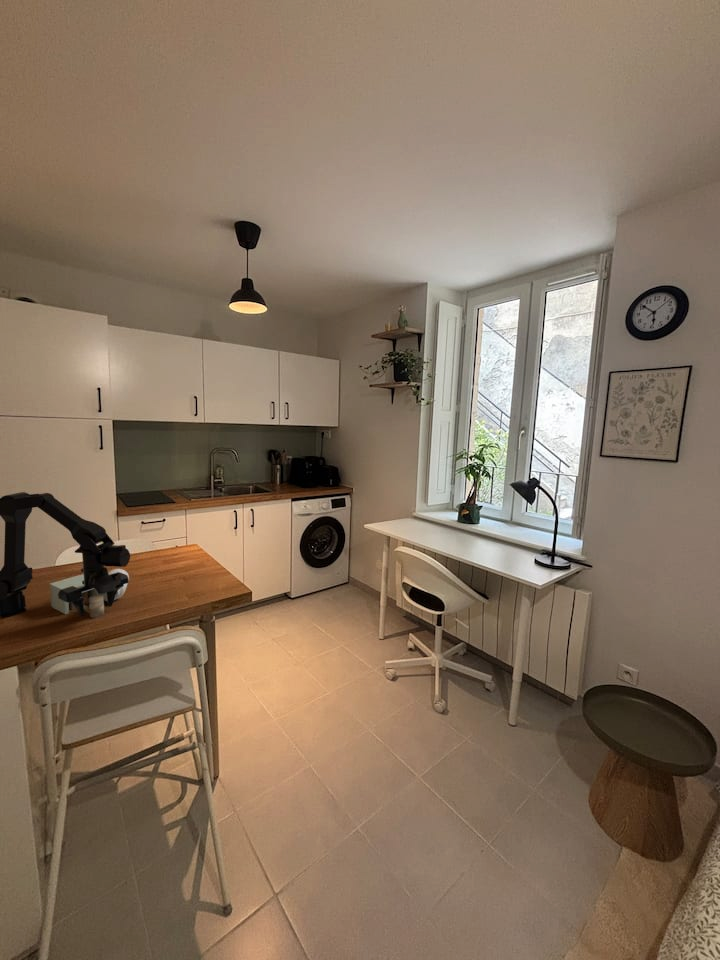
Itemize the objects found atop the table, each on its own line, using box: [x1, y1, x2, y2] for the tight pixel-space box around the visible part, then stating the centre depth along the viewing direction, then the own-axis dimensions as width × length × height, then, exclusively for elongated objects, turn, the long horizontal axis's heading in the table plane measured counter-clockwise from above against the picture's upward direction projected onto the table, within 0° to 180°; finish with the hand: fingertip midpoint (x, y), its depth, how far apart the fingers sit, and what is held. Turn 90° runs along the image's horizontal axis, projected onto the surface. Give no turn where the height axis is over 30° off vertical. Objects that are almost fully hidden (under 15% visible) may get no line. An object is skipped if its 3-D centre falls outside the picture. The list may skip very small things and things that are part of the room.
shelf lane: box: [49, 573, 100, 615], centre depth 135 cm, size 10×10×8 cm
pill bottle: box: [99, 568, 130, 602], centre depth 143 cm, size 8×8×15 cm
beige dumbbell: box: [68, 592, 105, 619], centre depth 132 cm, size 5×18×6 cm, turn 61°
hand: (96, 611), depth 129 cm, fingers open, 8 cm apart
